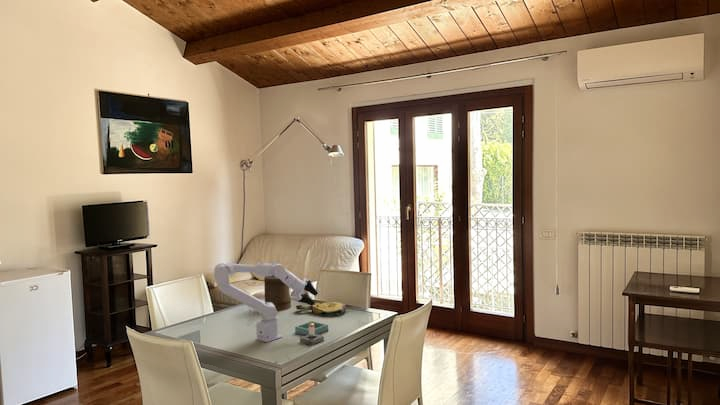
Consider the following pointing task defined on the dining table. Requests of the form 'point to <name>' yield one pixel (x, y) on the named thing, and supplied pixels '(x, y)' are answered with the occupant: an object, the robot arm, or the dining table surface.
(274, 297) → the wooden container
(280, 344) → the dining table surface
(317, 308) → the pulley block
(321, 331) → the tray
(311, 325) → the pin
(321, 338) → the pin bracket
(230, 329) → the dining table surface
